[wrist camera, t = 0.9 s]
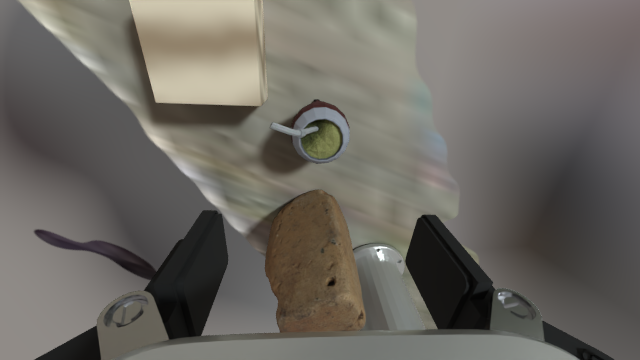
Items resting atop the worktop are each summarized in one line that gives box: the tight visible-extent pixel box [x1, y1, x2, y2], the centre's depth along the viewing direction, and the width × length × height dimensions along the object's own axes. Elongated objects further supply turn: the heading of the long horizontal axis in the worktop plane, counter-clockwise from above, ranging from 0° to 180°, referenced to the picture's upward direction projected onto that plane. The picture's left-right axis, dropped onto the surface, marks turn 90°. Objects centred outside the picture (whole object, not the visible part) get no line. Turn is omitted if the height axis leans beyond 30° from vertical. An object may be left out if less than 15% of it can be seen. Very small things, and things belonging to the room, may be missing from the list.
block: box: [265, 190, 366, 333], centre depth 31 cm, size 11×8×20 cm
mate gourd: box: [270, 99, 349, 164], centre depth 26 cm, size 8×8×15 cm
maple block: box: [129, 0, 268, 106], centre depth 26 cm, size 11×11×6 cm
